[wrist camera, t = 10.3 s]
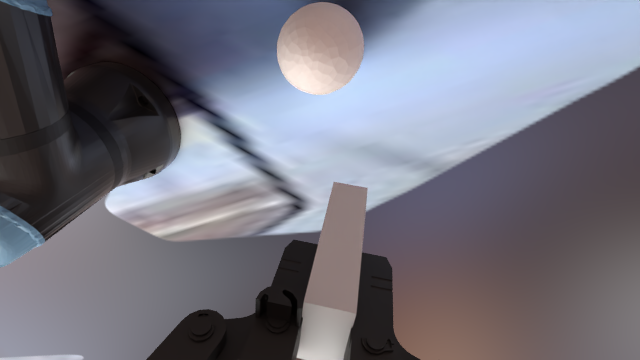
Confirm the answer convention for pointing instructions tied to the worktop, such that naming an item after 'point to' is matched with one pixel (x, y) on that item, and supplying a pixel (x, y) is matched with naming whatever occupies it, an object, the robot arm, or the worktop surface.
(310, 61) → the egg
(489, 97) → the worktop surface
